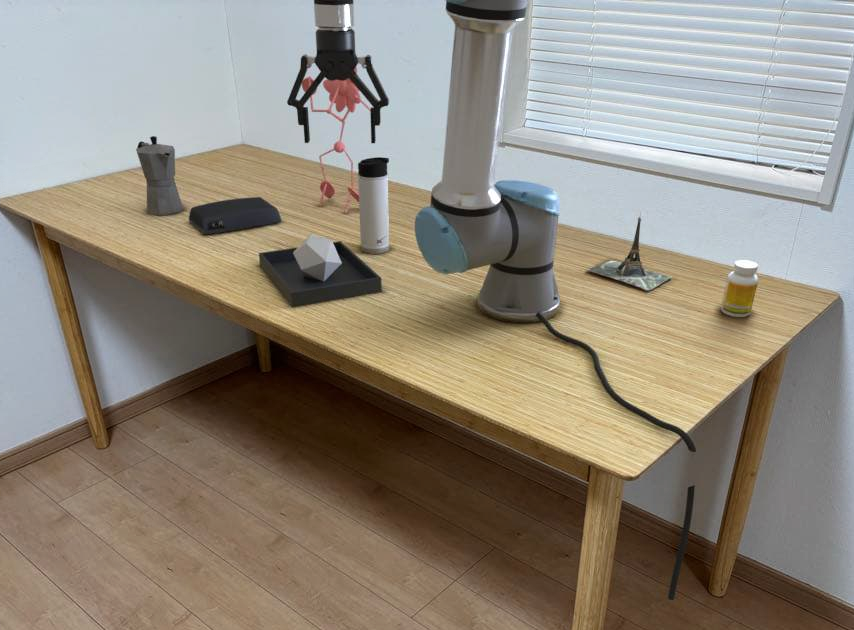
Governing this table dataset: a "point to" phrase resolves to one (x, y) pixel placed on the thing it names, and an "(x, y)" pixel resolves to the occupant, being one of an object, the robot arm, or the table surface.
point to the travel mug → (373, 205)
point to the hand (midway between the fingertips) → (340, 141)
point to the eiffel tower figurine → (632, 269)
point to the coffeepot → (159, 177)
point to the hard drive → (233, 215)
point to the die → (317, 257)
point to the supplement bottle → (740, 289)
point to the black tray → (304, 290)
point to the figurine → (342, 97)
